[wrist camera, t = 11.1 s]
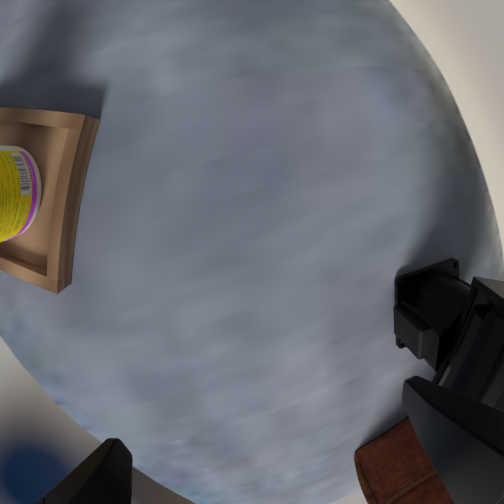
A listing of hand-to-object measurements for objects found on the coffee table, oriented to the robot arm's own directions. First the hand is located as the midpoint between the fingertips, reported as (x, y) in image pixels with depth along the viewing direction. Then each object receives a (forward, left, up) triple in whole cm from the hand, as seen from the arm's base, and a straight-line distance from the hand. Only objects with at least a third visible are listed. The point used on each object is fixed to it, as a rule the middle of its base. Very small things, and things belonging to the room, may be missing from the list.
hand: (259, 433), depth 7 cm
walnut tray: (+15, -11, -13) cm, 23 cm away
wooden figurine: (-12, +23, -13) cm, 30 cm away
